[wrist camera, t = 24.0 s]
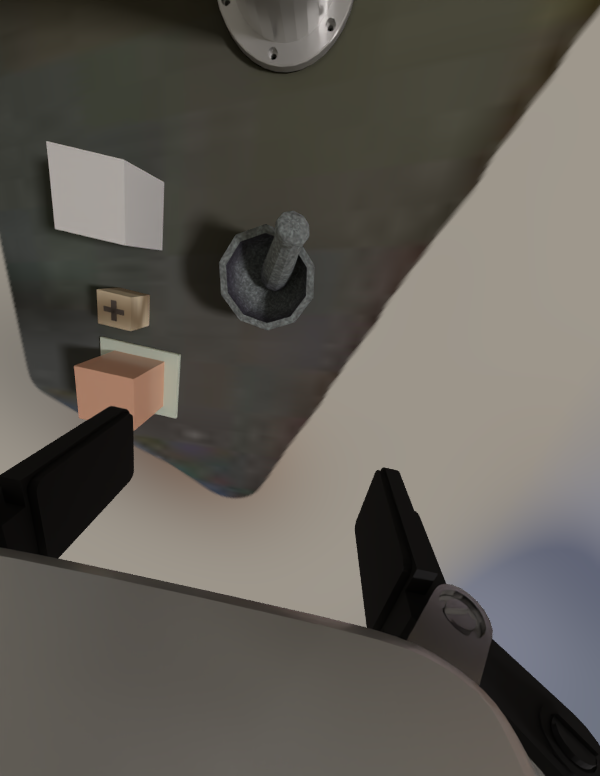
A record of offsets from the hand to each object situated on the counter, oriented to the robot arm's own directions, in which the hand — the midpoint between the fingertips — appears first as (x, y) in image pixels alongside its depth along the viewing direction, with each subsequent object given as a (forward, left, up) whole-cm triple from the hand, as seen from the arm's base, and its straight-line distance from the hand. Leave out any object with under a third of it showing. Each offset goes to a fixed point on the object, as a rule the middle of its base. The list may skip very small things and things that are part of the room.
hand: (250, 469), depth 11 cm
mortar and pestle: (-6, -4, -28) cm, 29 cm away
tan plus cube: (+2, -22, -28) cm, 36 cm away
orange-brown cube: (+12, -21, -28) cm, 37 cm away
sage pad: (+12, -21, -28) cm, 37 cm away
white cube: (-9, -22, -28) cm, 37 cm away
